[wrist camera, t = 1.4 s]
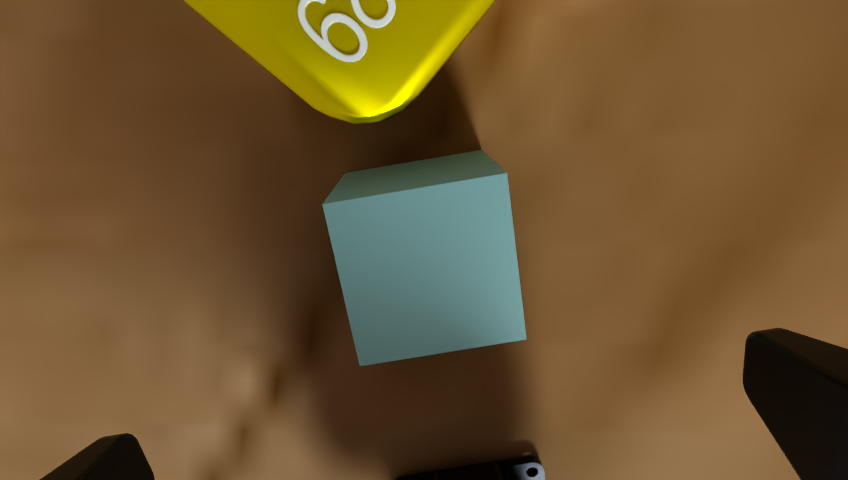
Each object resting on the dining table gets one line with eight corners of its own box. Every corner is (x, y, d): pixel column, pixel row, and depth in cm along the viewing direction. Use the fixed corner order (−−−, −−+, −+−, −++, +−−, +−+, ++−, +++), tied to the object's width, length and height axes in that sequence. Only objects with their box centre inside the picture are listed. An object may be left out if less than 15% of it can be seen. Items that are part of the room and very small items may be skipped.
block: (498, 277, 20) (526, 339, 15) (371, 298, 20) (360, 366, 15) (481, 149, 18) (506, 173, 14) (344, 173, 18) (322, 204, 14)
